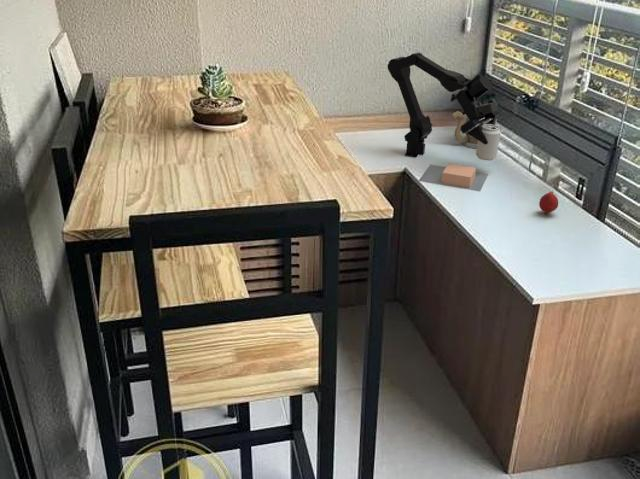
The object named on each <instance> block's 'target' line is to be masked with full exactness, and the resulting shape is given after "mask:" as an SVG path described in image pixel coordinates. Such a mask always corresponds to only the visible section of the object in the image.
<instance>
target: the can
mask: <svg viewBox="0 0 640 479" xmlns="http://www.w3.org/2000/svg"><path fill="white" fill-rule="evenodd" d="M482 131H483V133H484V135H485V137H486V139H487V142H488V144H486V145H485V144H484V143H482V142H480V141H479V140H478V143H477V149H475V151H476V152H475V155H476V156H477V159H479V160H482V161H492V160H494V159H496V158H497V157H498V156H497V155H498V151H499V150H498V149H499V144H500V138H501V129H500V126H498V125H497V124H496V125H493V124H484V125H482Z"/></svg>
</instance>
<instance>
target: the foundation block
mask: <svg viewBox="0 0 640 479" xmlns="http://www.w3.org/2000/svg"><path fill="white" fill-rule="evenodd" d="M445 167H446V168H445V170H444V171H443V173H442V181H441V183H444V184H449V185H455V186H461V187H467V188H470V186H471V184H472V182H473V180H474V178H475V172H477V167H474V166H468V165H467V166H466V165H462V164H454V163H448V164H447V166H445Z"/></svg>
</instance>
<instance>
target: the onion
mask: <svg viewBox="0 0 640 479" xmlns="http://www.w3.org/2000/svg"><path fill="white" fill-rule="evenodd" d="M554 193H555V192H554V190H549V192H548V193H545V194H544V195H542V196H541V197H540V199H539V203H538V206H539V208H540V209H541V211H542V212H543V213H545V214H546V213H547V215H548V213H549V214H550V213H552V212H555V211H556V210H557V208H558V207H559V199H558V197H557V196H556V194H554Z"/></svg>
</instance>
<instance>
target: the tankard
mask: <svg viewBox="0 0 640 479" xmlns="http://www.w3.org/2000/svg"><path fill="white" fill-rule="evenodd" d="M451 116H452V117H453V119H456V118H457V117H459V120H458V123H457V126H456V128H455V130H454V137H455V140H456V141H457V142H459V143H461V144H462V143H463V144H462V145H464V146H465V147H466V148H469V149H470V148H471V149H475V150H477V143H478V140H477V139H476V138H474V137H472V136H470V135H467V134H466V133H468V132H469V131H468V132H466V133H464V134H465V136H461V133H462V132H461V130H460V128H461V126H462V125H463V124H465V123H466V122H467V121H469V119H468V118H467V116H466V114H465V115H463V114H462V112H460V111H459V110H457V111H455V112H453V113H452V114H451ZM497 121H498V118H497V119H496V121H495V125H497ZM480 124H481V123H480ZM480 124H479V125H480ZM482 125H483V124H482Z"/></svg>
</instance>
